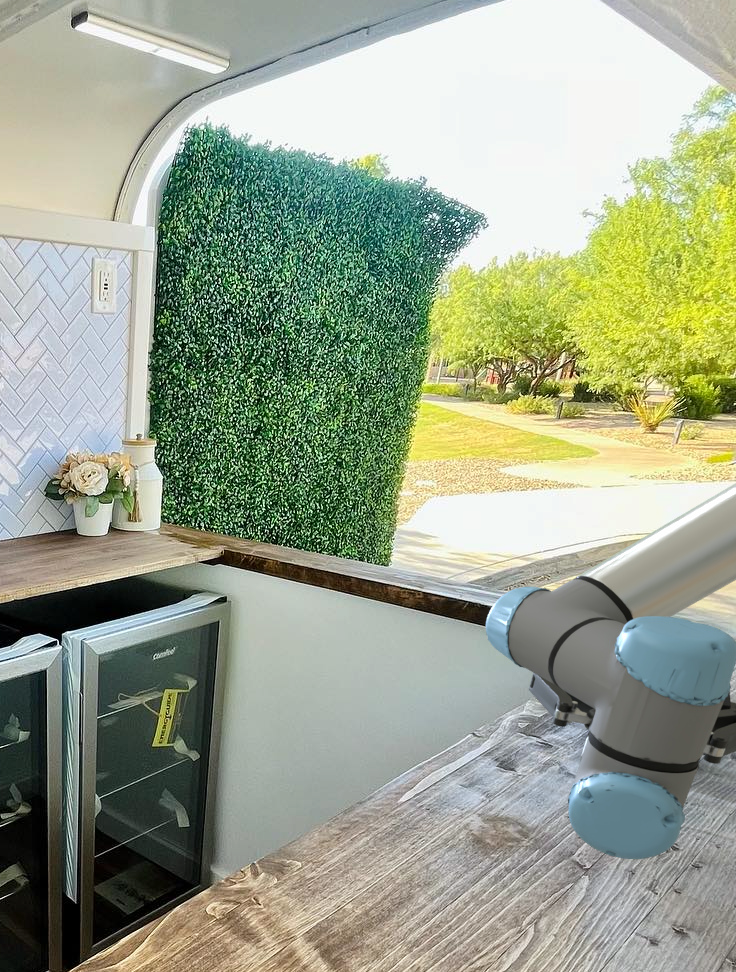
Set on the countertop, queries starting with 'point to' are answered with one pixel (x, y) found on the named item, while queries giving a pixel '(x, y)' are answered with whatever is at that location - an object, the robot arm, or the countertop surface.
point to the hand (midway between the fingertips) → (643, 679)
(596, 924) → the countertop surface
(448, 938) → the countertop surface
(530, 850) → the countertop surface
